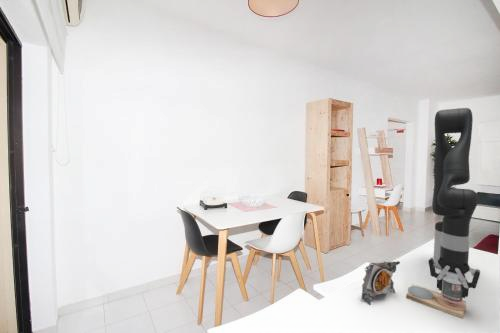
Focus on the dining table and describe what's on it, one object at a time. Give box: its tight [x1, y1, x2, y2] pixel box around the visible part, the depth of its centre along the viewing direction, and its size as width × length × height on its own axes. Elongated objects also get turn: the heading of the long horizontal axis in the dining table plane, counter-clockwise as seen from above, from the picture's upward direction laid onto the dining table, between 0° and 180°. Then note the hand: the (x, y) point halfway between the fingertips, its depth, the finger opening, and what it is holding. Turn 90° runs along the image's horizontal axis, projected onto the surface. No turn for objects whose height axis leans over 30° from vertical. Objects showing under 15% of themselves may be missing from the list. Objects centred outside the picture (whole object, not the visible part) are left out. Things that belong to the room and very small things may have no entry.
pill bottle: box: [440, 271, 464, 303], centre depth 86 cm, size 6×6×10 cm
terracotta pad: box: [437, 296, 467, 312], centre depth 86 cm, size 8×8×1 cm
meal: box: [361, 260, 401, 306], centre depth 92 cm, size 15×4×13 cm, turn 115°
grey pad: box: [407, 285, 434, 299], centre depth 93 cm, size 8×8×1 cm
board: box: [405, 283, 467, 319], centre depth 89 cm, size 10×16×1 cm, turn 45°
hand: (451, 292), depth 86 cm, fingers closed on pill bottle, 5 cm apart
